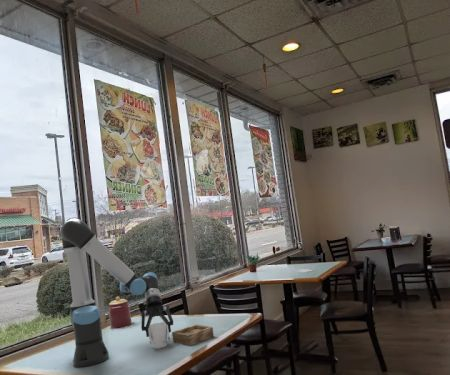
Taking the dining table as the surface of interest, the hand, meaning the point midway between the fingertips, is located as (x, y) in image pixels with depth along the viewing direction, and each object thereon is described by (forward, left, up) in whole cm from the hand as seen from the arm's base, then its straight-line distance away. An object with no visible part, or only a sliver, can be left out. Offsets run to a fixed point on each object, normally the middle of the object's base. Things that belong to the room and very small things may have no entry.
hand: (159, 340), depth 186 cm
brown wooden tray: (+15, -4, -4) cm, 16 cm away
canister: (+12, +73, -4) cm, 74 cm away
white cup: (+1, +3, -4) cm, 5 cm away
